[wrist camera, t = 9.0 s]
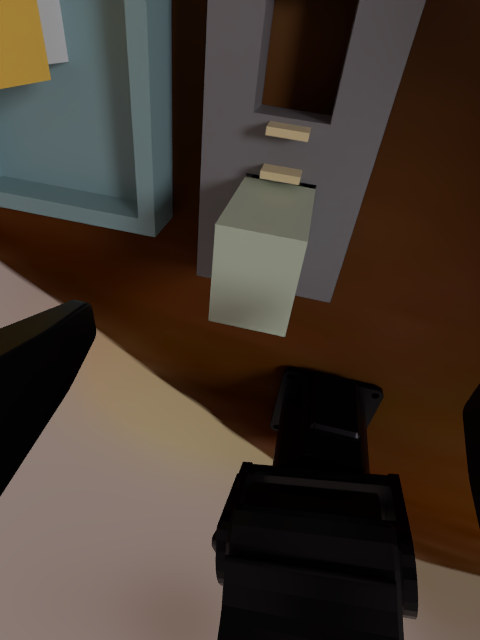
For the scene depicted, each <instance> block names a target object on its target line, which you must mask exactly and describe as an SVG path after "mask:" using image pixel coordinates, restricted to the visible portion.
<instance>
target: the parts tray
mask: <svg viewBox="0 0 480 640" xmlns="http://www.w3.org/2000/svg"><path fill="white" fill-rule="evenodd" d="M59 2H60V8H61V15H62V21H63V28H64V34H65V41H66V47H67V54H68V61H69V62H63V63H55V64H48V65H49V70H50V76H51V80H48V81H42V82H37V83H31V84H26V85H20V86H15V87H9V88H4V89H0V207H4V208H9V209H14V210H19V211H24V212H29V213H34V214H39V215H44V216H50V217H55V218H60V219H65V220H70V221H75V222H80V223H85V224H90V225H95V226H100V227H105V228H110V229H116V230H121V231H126V232H131V233H136V234H141V235H146V236H151V237H156V236H157V235H158V234H159V232H160V231H161V230H162V229H163V228H164V227H165V225H166V224H167V223H168V222H169V221H170V220H171V219H172V217H173V182H172V0H59Z"/></svg>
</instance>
